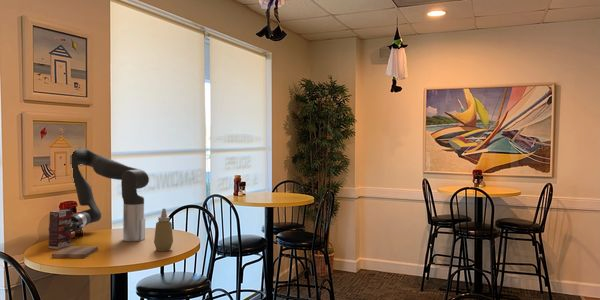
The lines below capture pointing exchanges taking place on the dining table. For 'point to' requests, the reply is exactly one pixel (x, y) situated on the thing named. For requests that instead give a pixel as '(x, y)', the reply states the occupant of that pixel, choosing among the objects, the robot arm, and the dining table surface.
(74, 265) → the dining table surface
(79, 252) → the walnut board
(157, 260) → the dining table surface
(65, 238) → the supplement box
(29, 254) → the dining table surface
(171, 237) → the squeeze bottle
